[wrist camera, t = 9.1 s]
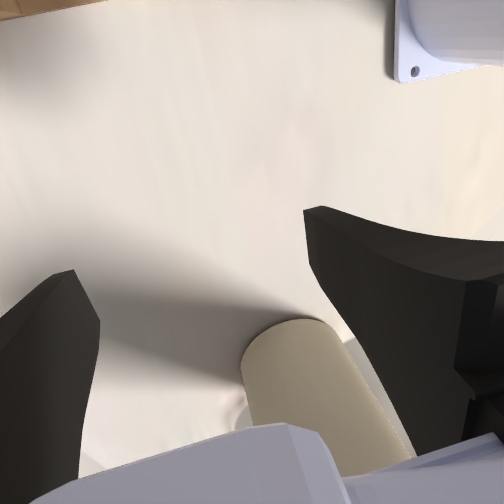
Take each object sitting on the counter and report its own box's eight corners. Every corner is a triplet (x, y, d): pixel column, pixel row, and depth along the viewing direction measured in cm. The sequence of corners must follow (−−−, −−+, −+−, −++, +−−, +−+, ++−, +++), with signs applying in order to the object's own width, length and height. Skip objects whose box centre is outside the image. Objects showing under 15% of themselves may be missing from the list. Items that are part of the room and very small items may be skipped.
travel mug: (258, 309, 26) (401, 702, 10) (355, 322, 28) (583, 653, 13) (227, 390, 29) (299, 780, 14) (316, 395, 32) (461, 728, 16)
